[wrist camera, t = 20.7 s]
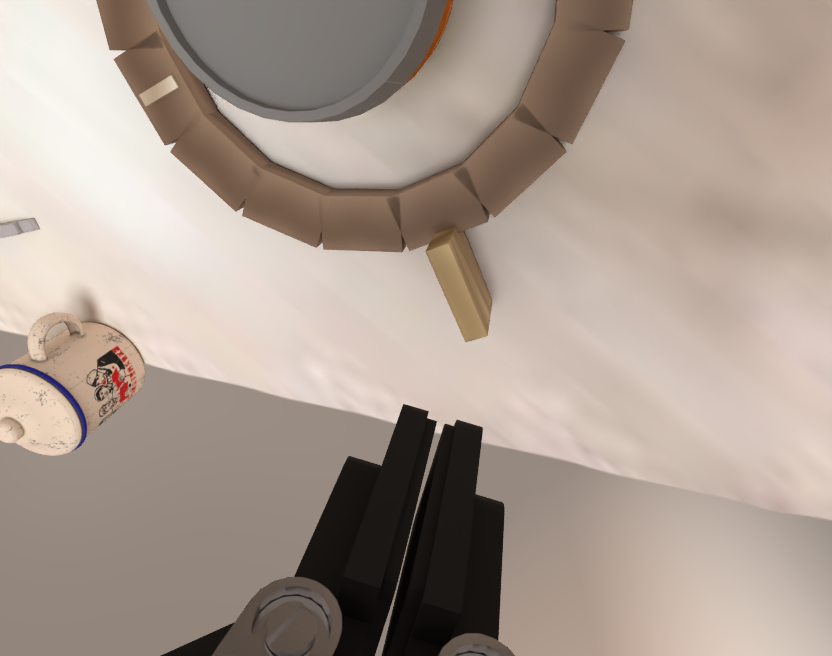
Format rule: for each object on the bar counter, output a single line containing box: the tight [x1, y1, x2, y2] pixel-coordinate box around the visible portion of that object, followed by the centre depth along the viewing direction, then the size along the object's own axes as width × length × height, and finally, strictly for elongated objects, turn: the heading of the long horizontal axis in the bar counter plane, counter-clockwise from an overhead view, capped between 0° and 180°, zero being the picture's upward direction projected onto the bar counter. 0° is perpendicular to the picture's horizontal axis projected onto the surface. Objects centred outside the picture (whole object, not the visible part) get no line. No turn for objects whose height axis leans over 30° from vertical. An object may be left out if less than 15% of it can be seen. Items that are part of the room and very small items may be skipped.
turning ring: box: [96, 0, 633, 342], centre depth 31 cm, size 33×40×6 cm
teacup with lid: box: [0, 313, 145, 455], centre depth 45 cm, size 12×9×12 cm
